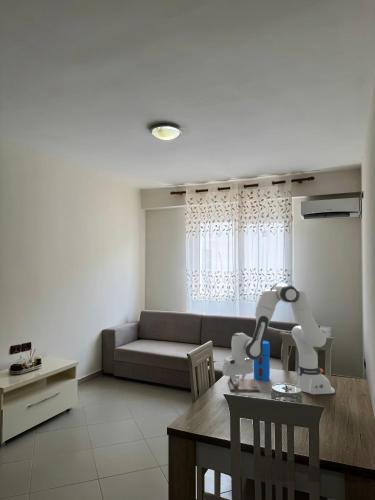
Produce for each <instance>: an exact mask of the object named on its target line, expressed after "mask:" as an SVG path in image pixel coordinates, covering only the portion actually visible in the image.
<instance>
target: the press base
mask: <svg viewBox="0 0 375 500" xmlns="http://www.w3.org/2000/svg"><path fill="white" fill-rule="evenodd" d="M227 384H228V388H229V390H230V392H234V393H237V392H238V393H241V392H242V393H243V392H244V393H260V392H261V390H260V387H259V386H258V383H257V380H255V379H251V378H250V379H249V378H247V379H246V378H244V381H241V379H240V378H239V387H235V386H234V384H233V382H232V380H230V378H227Z"/></svg>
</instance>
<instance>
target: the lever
mask: <svg viewBox="0 0 375 500" xmlns="http://www.w3.org/2000/svg"><path fill="white" fill-rule="evenodd" d="M229 379H230V380H232V378H231V376H229ZM234 379H236V382H233V384H234V386H235V387H239V379H240V375H234Z"/></svg>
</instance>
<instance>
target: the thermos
mask: <svg viewBox="0 0 375 500" xmlns="http://www.w3.org/2000/svg"><path fill="white" fill-rule="evenodd" d="M262 346H263V354H262V356H261V357H260V358H259V359H253V378H254V379H255V381H257V382H268V381H270V373H271V372H270V370H271V369H270V364H271V363H270V360H271V359H270V354H271V353H270V352H271V351H270V342H269V341H267V340H263V345H262ZM267 380H268V381H267Z"/></svg>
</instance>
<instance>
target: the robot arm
mask: <svg viewBox="0 0 375 500" xmlns="http://www.w3.org/2000/svg"><path fill="white" fill-rule="evenodd" d="M280 301H281V302H285V303H290V305H291V311H292V313H293V318H294V320H295V322H296V323H297V324H298V325H295V326H294V327H293V328H292V329H291V333H290V334H291V337H292V338H293V340H294V342H295V345H296V347H297V351H298V358H299V359H298V360H299V361H298V368H297V369H298V380H297V386H298V387H300V388H301V389H302V391H301V392H304V393H308V394H310V395H326V394H327V395H328V394H335V393H336V391H335V389H334V387H332V386H331V385H332V384H331V383H330V380H329V379H328V378H327V376H325V375H323V374H322V373H324V369H323V368H320V367H319V366H318V365H319V364H318V361H319V360H318V359H319V357H318V353H317V352H316V351H315V347H316V348H317V347H318V348H321V347H323V346H325V345H326V342H327V335H326V333H325V332H324V331H323V330H322V329H321V328H320V327H319V325H318V324H317V322H316V320H315V318H314V316H313V313H312V308H311V305H310V302H309V299H308V296H307V294H306V292H305V291H304V290H302V289H297V288H296V287H294V286H293V285H290V284H288V283H283V282H277V283H275V284H273V285H272V287H271V288H270V289H264V291H262V294H260V297H259V299H258V302H257V304H256V308H255V313H254V316H255V321H256V322H255V323H256V326H255V329H254V332H253V336H252V337H251V336H249V335H247V334H245V333H244V332H235V333H234V334H233V335H232V337H231V342H230V343H231V347H230V348H231V354H230V355H229V356H226V357H225V358H223V365H222V375H223V376H225V377H230V376H231V378H232V382H236V379H234V375H238V376H240V375H241V377H239V379H241V381H244V379H246V378H245V377H246V376H247V375H248V374H249V375H250V374H254V359H259V358H260V357H261V356H262V354H263V346H262V345H263V341H265V340H264V339H265V336H266V332H267V330H268V327H269V325H270V323H271V320H272V318H273V316H274V313H275V310H276V306H277V305H278V303H279V302H280ZM246 356H247V357H248V358H246ZM297 386H296V387H297Z"/></svg>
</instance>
